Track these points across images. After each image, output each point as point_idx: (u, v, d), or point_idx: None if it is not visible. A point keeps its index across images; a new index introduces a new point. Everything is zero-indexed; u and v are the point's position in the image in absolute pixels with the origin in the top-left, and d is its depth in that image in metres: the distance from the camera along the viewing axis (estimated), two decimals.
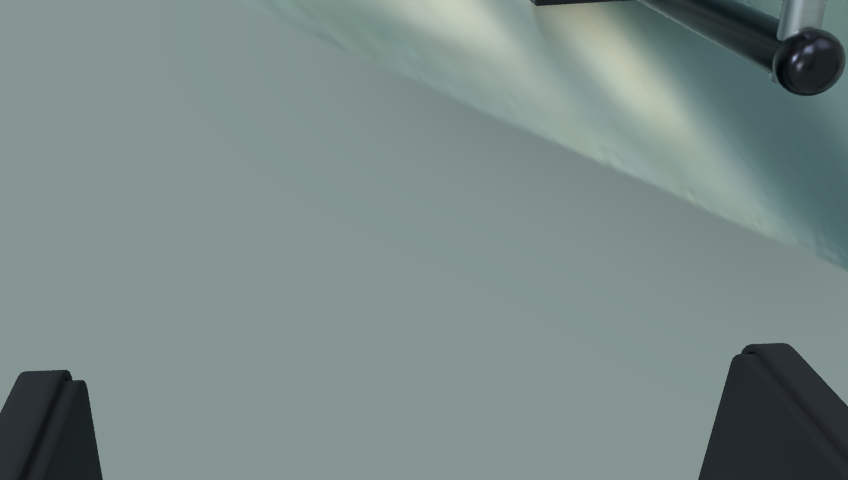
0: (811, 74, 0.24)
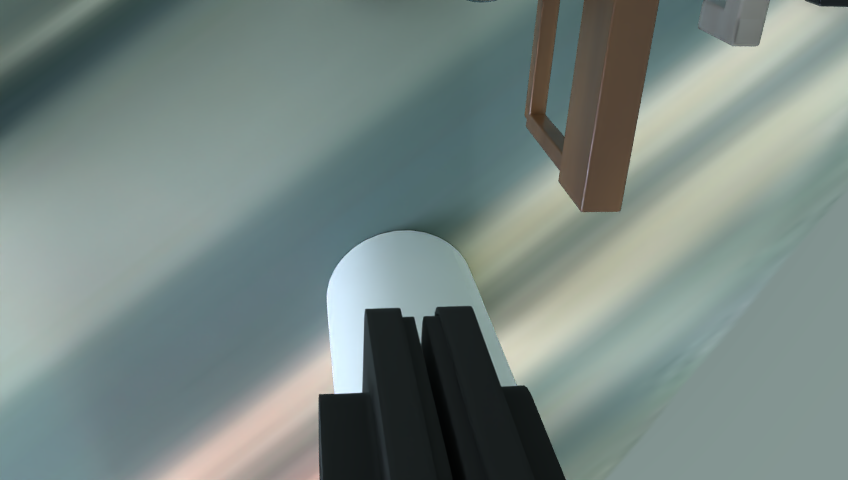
0: None
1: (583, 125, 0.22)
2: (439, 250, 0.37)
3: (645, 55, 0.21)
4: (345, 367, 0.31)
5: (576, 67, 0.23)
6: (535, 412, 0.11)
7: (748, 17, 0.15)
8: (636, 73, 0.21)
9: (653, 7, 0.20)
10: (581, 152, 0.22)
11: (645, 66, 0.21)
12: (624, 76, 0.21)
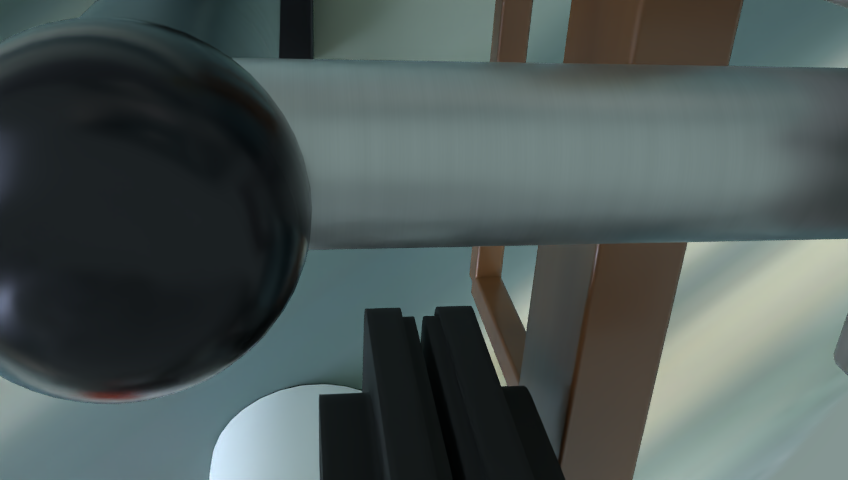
0: None
1: (550, 384, 0.12)
2: None
3: (671, 280, 0.10)
4: None
5: (538, 267, 0.12)
6: (534, 412, 0.11)
7: None
8: (652, 312, 0.10)
9: None
10: (547, 429, 0.12)
11: (671, 299, 0.10)
12: (628, 319, 0.10)
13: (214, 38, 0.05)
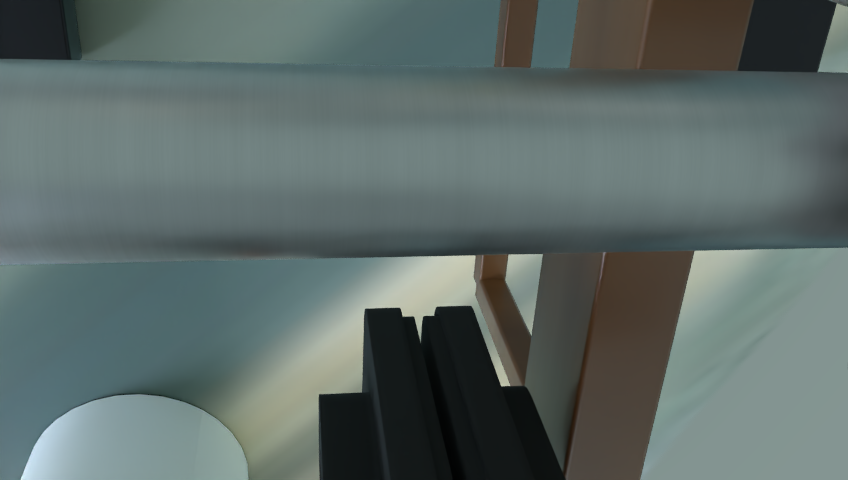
0: None
1: (556, 389, 0.12)
2: (170, 430, 0.25)
3: (679, 284, 0.10)
4: None
5: (544, 270, 0.12)
6: (535, 411, 0.11)
7: None
8: (660, 317, 0.10)
9: None
10: (552, 434, 0.12)
11: (678, 304, 0.10)
12: (636, 323, 0.10)
13: None
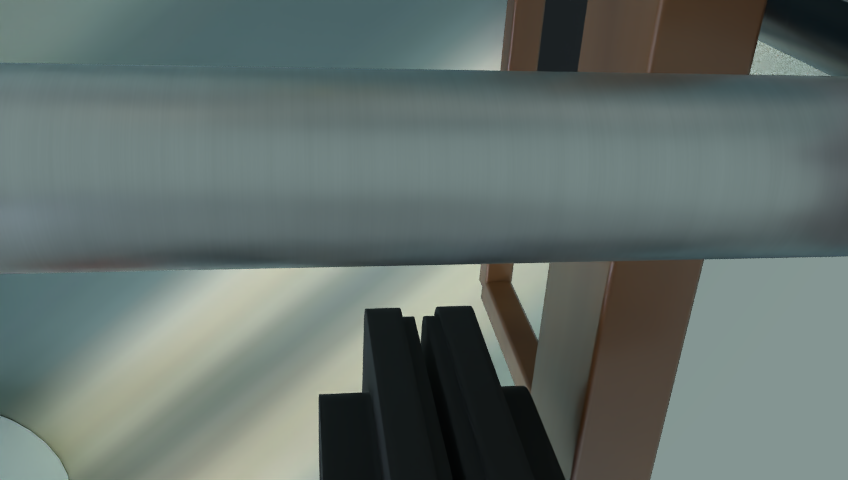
0: None
1: (563, 394, 0.12)
2: None
3: (689, 289, 0.10)
4: None
5: (551, 274, 0.12)
6: (535, 412, 0.11)
7: None
8: (669, 322, 0.10)
9: None
10: (559, 440, 0.12)
11: (688, 310, 0.10)
12: (645, 329, 0.10)
13: None
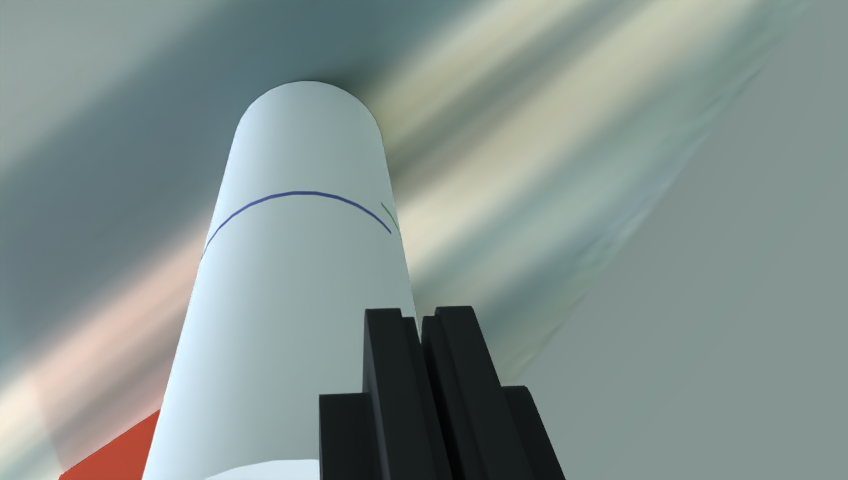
0: None
1: None
2: (341, 98, 0.36)
3: None
4: (223, 185, 0.31)
5: None
6: (535, 412, 0.11)
7: None
8: None
9: None
10: None
11: None
12: None
13: None
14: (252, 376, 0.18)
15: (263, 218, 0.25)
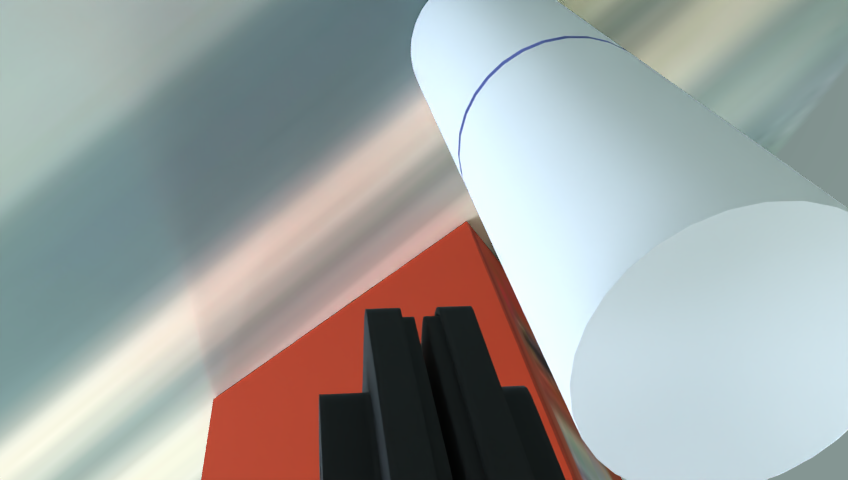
0: None
1: None
2: None
3: None
4: (449, 55, 0.30)
5: None
6: (535, 412, 0.11)
7: None
8: None
9: None
10: None
11: None
12: None
13: None
14: (671, 152, 0.17)
15: (551, 55, 0.24)
